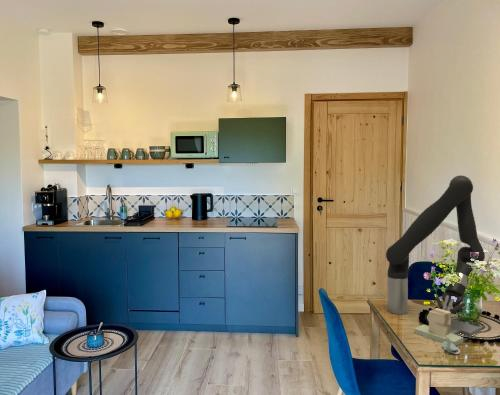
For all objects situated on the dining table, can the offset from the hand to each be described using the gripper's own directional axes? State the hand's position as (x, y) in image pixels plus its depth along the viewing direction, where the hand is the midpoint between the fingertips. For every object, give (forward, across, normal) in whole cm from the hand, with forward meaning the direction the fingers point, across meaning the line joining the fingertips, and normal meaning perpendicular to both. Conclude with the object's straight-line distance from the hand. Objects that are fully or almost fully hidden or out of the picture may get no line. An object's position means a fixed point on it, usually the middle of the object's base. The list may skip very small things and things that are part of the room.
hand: (443, 320), depth 168 cm
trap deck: (+2, 0, +7) cm, 7 cm away
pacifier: (+13, +9, -3) cm, 16 cm away
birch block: (+6, 0, 0) cm, 6 cm away
